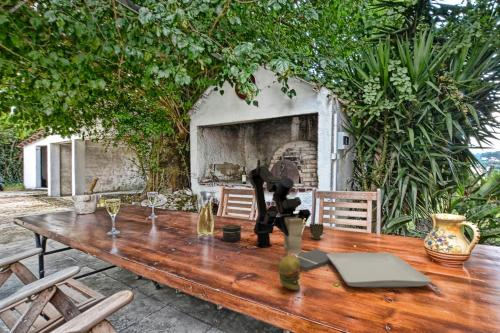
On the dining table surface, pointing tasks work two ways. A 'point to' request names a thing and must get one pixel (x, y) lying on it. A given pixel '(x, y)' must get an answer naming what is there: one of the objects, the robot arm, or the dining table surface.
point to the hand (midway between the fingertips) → (294, 235)
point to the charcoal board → (313, 259)
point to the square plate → (376, 270)
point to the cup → (316, 230)
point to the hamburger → (289, 272)
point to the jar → (231, 233)
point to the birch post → (293, 235)
